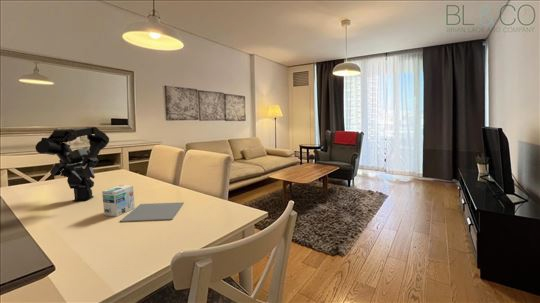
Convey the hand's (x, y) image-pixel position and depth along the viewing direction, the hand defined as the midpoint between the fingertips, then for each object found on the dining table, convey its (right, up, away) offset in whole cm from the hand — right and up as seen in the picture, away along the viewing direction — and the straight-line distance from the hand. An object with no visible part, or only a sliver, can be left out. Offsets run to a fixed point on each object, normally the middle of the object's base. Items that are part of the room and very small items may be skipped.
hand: (87, 179), depth 112 cm
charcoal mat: (+32, -14, -3) cm, 35 cm away
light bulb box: (+16, -14, -2) cm, 22 cm away
